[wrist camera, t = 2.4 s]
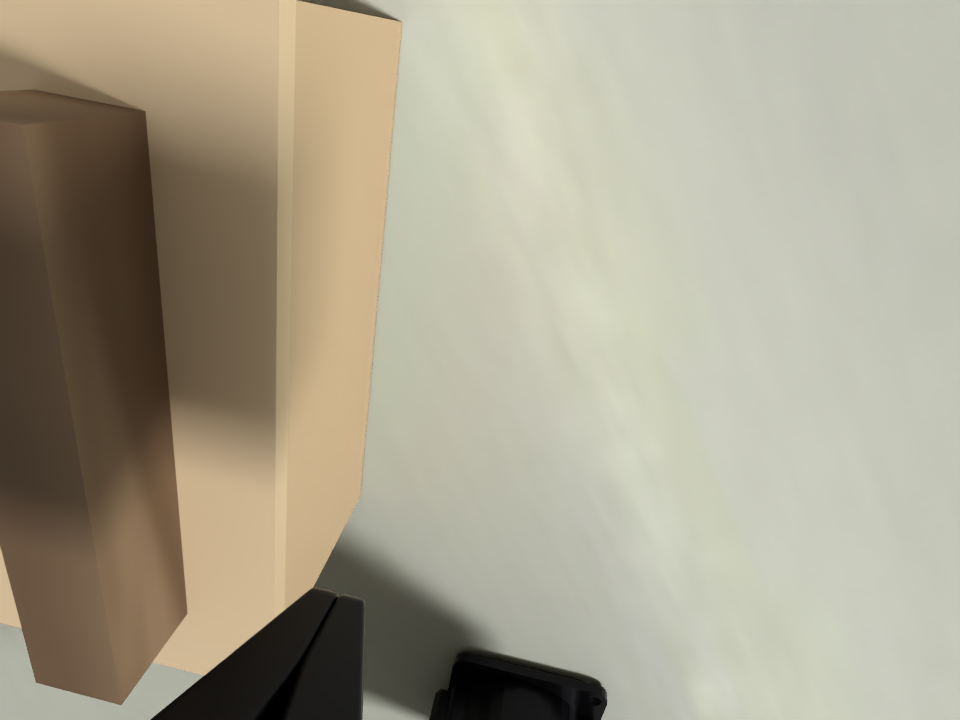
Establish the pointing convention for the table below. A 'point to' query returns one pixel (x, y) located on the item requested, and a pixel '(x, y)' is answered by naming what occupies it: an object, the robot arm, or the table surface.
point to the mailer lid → (143, 331)
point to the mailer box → (334, 269)
